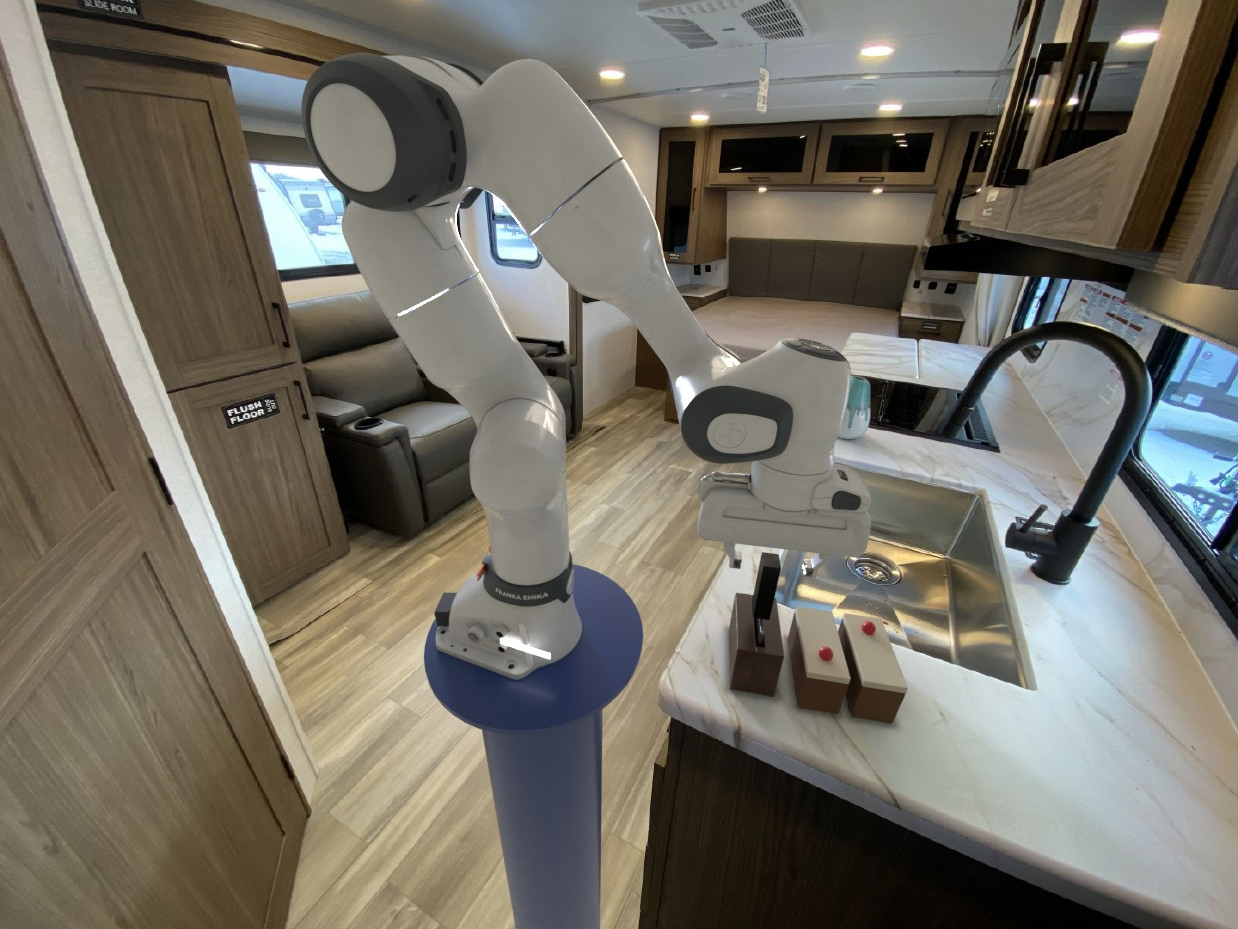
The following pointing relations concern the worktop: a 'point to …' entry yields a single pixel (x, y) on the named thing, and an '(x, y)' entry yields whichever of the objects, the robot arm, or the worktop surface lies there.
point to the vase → (857, 409)
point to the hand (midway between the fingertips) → (770, 570)
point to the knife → (765, 592)
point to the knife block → (754, 650)
